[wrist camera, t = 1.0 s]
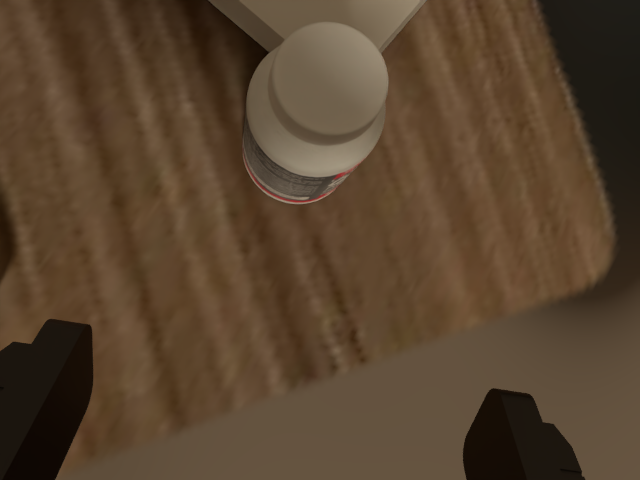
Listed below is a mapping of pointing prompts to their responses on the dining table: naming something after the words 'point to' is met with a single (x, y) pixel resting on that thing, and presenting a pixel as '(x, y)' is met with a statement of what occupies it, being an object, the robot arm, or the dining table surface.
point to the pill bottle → (313, 111)
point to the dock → (318, 17)
